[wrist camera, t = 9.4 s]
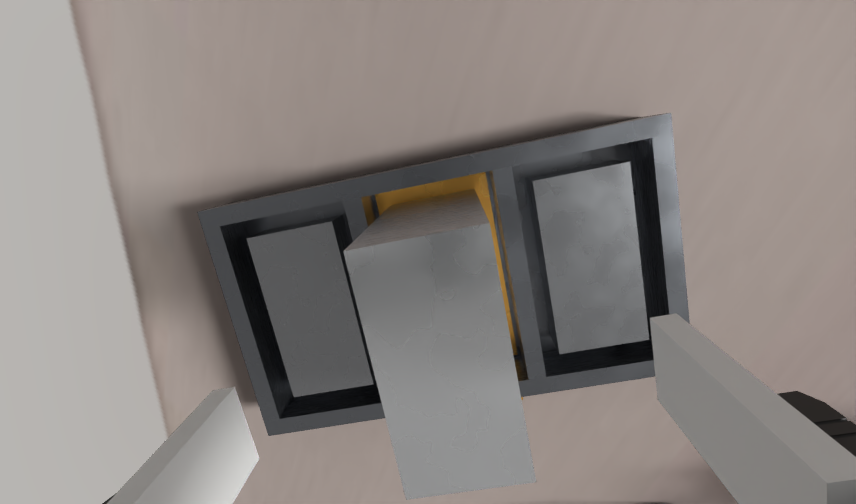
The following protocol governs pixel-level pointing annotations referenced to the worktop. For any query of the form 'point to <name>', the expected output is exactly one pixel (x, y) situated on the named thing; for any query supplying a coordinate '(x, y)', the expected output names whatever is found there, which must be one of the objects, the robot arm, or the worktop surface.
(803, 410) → the robot arm
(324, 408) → the rack
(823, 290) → the worktop surface
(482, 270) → the grey rectangular block
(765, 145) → the worktop surface
